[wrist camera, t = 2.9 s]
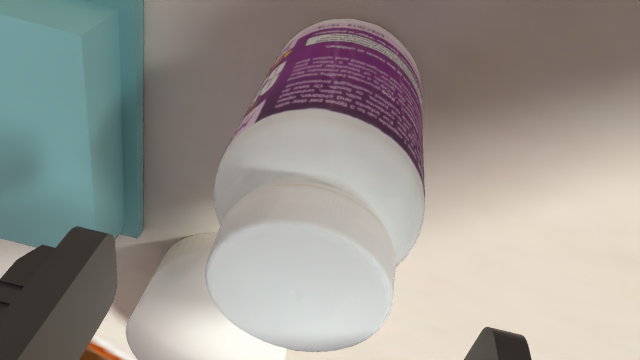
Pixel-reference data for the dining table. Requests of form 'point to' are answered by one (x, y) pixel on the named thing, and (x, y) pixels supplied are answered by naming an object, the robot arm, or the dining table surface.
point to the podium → (71, 118)
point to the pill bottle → (321, 190)
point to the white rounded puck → (189, 313)
